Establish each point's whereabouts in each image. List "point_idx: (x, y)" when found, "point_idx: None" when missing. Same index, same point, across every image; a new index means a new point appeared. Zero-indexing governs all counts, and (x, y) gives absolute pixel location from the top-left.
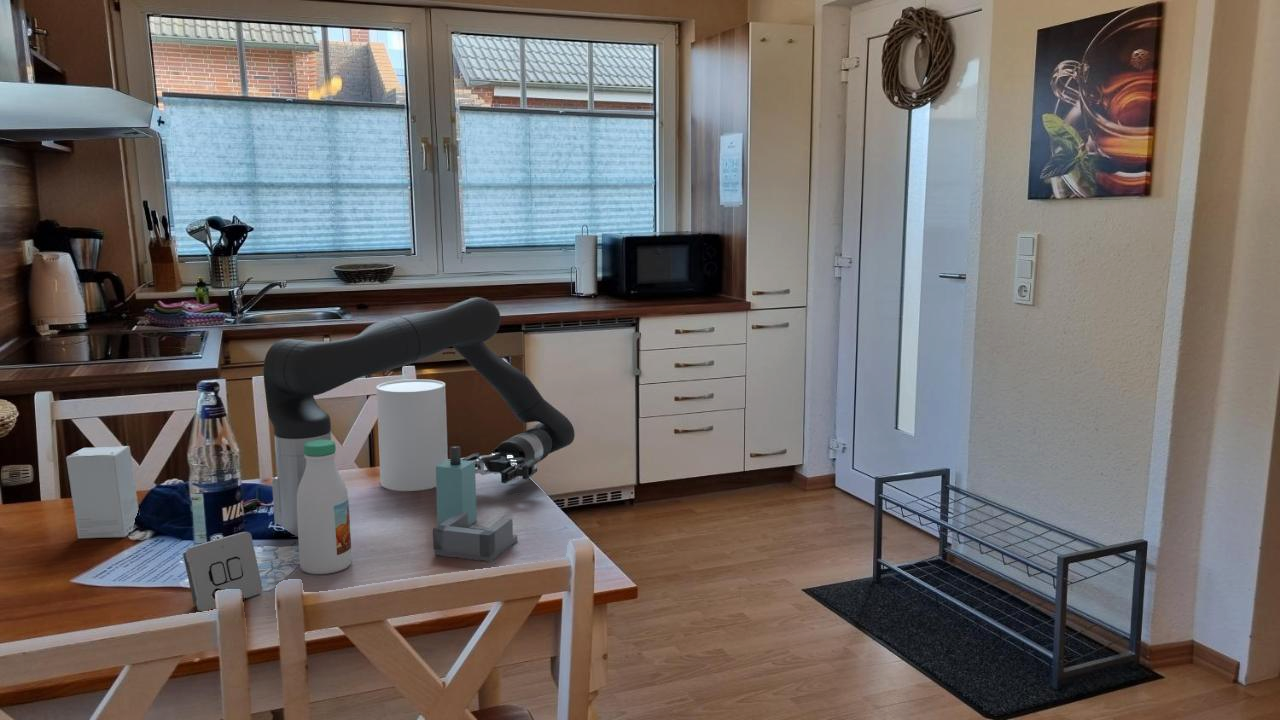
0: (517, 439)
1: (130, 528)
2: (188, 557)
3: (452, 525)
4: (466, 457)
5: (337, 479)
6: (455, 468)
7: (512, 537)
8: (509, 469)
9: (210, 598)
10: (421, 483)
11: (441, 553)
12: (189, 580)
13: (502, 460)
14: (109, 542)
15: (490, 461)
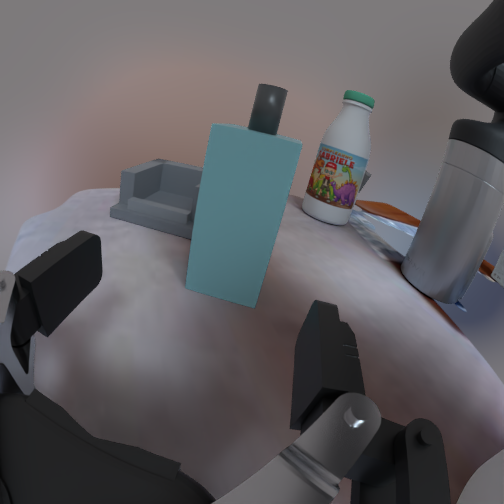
0: None
1: (498, 277)
2: None
3: None
4: (445, 500)
5: (332, 122)
6: (247, 127)
7: (120, 200)
8: (49, 252)
9: None
10: (479, 482)
11: None
12: (360, 188)
13: (37, 458)
14: (487, 272)
15: (169, 468)
